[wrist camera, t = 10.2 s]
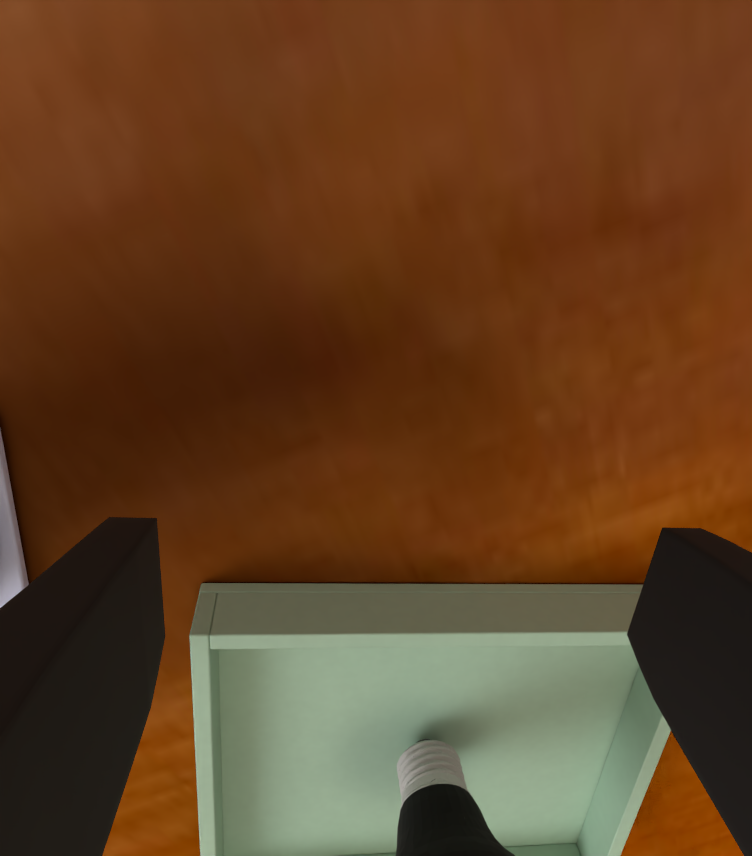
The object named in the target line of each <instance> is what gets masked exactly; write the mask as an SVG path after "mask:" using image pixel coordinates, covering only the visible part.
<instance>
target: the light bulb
mask: <svg viewBox="0 0 752 856" xmlns="http://www.w3.org/2000/svg"><path fill="white" fill-rule="evenodd" d="M397 772H398V779H399V787H400V793H401V801H402V804H401V808H400V815H399V821H398V828H397V849H396V855H395V856H515V855H514V854H513V853H511V852H510V851H508V850H507V849H505V848H504V847H503V846H502V845H501V844H500V843H499V842H498V841H497V839H496V838H495V837H494V835H493V834H492V832H491V831H490V829H489V828H488V826H487V823H486V821H485V819H484V817H483V814H482V812H481V810H480V808H479V807H478V805H477V803H476V802H475V800H474V799H473V797H472V794H471V793H470V792H469V791H468V790H467V788H466V787H467V786H466V782H465V780H464V774H463V772H462V766H461V764H460V758H459V756H458V754H457V753H456V751H455V749H454V748H453V747H452V746H450V745H448V744H446V743H444V742H442V741H437V740H431V739H427V738H425V739H421V740H419V741H418V742H416V743H415V744H413V745H412V746H410V747H409V748H408V749H407V750H405V751H404V753H403V754H402V755H401V757H400V758H399V760H398V763H397Z"/></svg>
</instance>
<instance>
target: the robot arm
mask: <svg viewBox="0 0 752 856" xmlns="http://www.w3.org/2000/svg"><path fill="white" fill-rule="evenodd" d="M627 636H628V639H629V641H630V644H631V647H632V649H633V652H634V654H635V657H636V659H637V662H638V664H639V667H640V669H641V672H642V674H643V676H644V678H645V681H646V683H647V685H648V687H649V690H650V692H651V694H652V697H653V699H654V701H655V703H656V704H657V706H658V708H659V710H660V712H661V713H662V715H663V717H664V719H665V720H666V722H667V724H668V726H669V727H670V729H671V731H672V733H673V734H674V736H675V738H676V740H677V741H678V743H679V745H680V747H681V748H682V750H683V752H684V754H685V755H686V757H687V759H688V760H689V762H690V764H691V766H692V767H693V769H694V771H695V772H696V774H697V776H698V778H699V779H700V781H701V783H702V784H703V786H704V788H705V789H706V791H707V793H708V795H709V796H710V798H711V800H712V801H713V803H714V805H715V807H716V808H717V810H718V812H719V813H720V815H721V817H722V818H723V820H724V822H725V824H726V825H727V827H728V829H729V830H730V832H731V834H732V836H733V837H734V839H735V841H736V842H737V844H738V846H739V848H740V849H741V851H742V853H743V854H744V856H752V553H751V552H749V551H747V550H745V549H743V548H741V547H739V546H737V545H735V544H734V543H732V542H730V541H728V540H725V539H723V538H721V537H719V536H717V535H715V534H713V533H710V532H708V531H706V530H703V529H701V528H662V530H661V533H660V536H659V539H658V542H657V545H656V548H655V551H654V554H653V557H652V560H651V563H650V566H649V569H648V572H647V575H646V578H645V581H644V584H643V587H642V590H641V593H640V596H639V599H638V602H637V605H636V608H635V611H634V614H633V617H632V620H631V623H630V626H629V629H628V632H627ZM164 640H165V627H164V613H163V599H162V585H161V571H160V557H159V543H158V529H157V518H121V517H109V518H108V519H106V520H105V521H104V522H103V523H101V524H100V525H99V526H98V527H97V528H95V529H94V530H93V531H92V532H91V533H89V534H88V535H87V536H86V537H85V538H84V539H82V540H81V541H80V542H79V543H78V544H76V545H75V546H74V547H73V548H72V549H70V550H69V551H68V552H67V553H66V554H65V555H63V556H62V557H61V558H60V559H59V560H58V561H56V562H55V563H54V564H53V565H52V566H50V567H49V568H48V569H47V570H46V571H45V572H43V573H42V574H41V575H40V576H39V577H37V578H36V579H35V580H34V581H33V582H31V583H30V584H29V583H28V578H27V572H26V566H25V561H24V555H23V550H22V544H21V539H20V533H19V528H18V522H17V517H16V511H15V506H14V500H13V495H12V489H11V484H10V478H9V473H8V467H7V462H6V456H5V451H4V445H3V440H2V434H1V429H0V856H102V854H103V851H104V848H105V845H106V842H107V839H108V836H109V833H110V830H111V827H112V824H113V821H114V818H115V815H116V812H117V809H118V806H119V803H120V800H121V797H122V794H123V791H124V788H125V785H126V782H127V779H128V776H129V773H130V770H131V767H132V764H133V761H134V758H135V754H136V751H137V748H138V745H139V742H140V739H141V736H142V733H143V730H144V727H145V724H146V721H147V717H148V714H149V711H150V708H151V703H152V699H153V694H154V689H155V685H156V680H157V675H158V670H159V665H160V660H161V655H162V650H163V645H164Z"/></svg>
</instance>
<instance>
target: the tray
mask: <svg viewBox="0 0 752 856" xmlns="http://www.w3.org/2000/svg"><path fill="white" fill-rule="evenodd" d="M642 587H643V584H336V583H202V584H201V587H200V591H199V596H198V601H197V605H196V609H195V614H194V618H193V622H192V627H191V631H190V636H189V637H190V657H191V677H192V697H193V717H194V738H195V758H196V778H197V798H198V818H199V839H200V856H395V855H396V849H397V828H398V821H399V815H400V808H401V804H402V801H401V793H400V787H399V779H398V772H397V763H398V760H399V758H400V757H401V755H402V754H403V753H404V751H405V750H407V749H408V748H409V747H410V746H412V745H413V744H415V743H416V742H418V741H419V740H421V739H425V738H427V739H431V740H437V741H442V742H444V743H446V744H448V745H450V746H452V747H453V748H454V749H455V751H456V753H457V754H458V756H459V758H460V764H461V766H462V772H463V774H464V780H465V782H466V786H467V787H466V788H467V790H468V791H469V792H470V793H471V794H472V797H473V799H474V800H475V802H476V803H477V805H478V807H479V808H480V810H481V812H482V814H483V817H484V819H485V821H486V823H487V826H488V828H489V829H490V831H491V832H492V834H493V835H494V837H495V838H496V839H497V841H498V842H499V843H500V844H501V845H502V846H503V847H504V848H505V849H507V850H508V851H510V852H511V853H513V854H514V855H515V856H620V855H621V852H622V850H623V848H624V845H625V843H626V840H627V838H628V835H629V833H630V830H631V828H632V825H633V823H634V820H635V818H636V815H637V813H638V810H639V808H640V805H641V803H642V801H643V798H644V796H645V793H646V791H647V788H648V786H649V783H650V781H651V778H652V776H653V773H654V771H655V768H656V766H657V763H658V761H659V758H660V756H661V754H662V751H663V749H664V746H665V744H666V741H667V739H668V736H669V734H670V731H671V729H670V727H669V726H668V724H667V722H666V720H665V719H664V717H663V715H662V713H661V712H660V710H659V708H658V706H657V704H656V703H655V701H654V699H653V697H652V694H651V692H650V690H649V687H648V685H647V683H646V681H645V678H644V676H643V674H642V672H641V669H640V667H639V664H638V662H637V659H636V657H635V654H634V652H633V649H632V647H631V644H630V641H629V639H628V636H627V632H628V629H629V626H630V623H631V620H632V617H633V614H634V611H635V608H636V605H637V602H638V599H639V596H640V593H641V590H642Z"/></svg>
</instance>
